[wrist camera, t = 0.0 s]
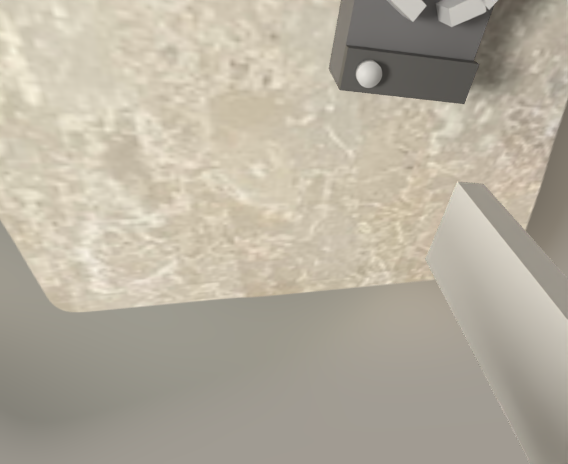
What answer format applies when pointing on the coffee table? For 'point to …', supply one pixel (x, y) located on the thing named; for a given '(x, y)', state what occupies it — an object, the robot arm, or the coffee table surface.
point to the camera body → (409, 47)
